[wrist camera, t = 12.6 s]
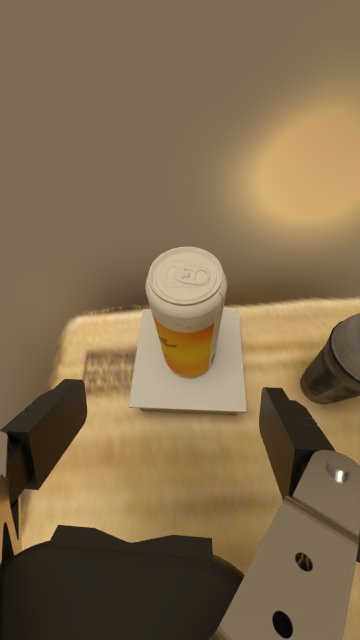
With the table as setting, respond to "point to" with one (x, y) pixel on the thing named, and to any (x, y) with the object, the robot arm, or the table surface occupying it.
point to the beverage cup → (336, 366)
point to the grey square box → (189, 392)
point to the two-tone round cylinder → (187, 307)
